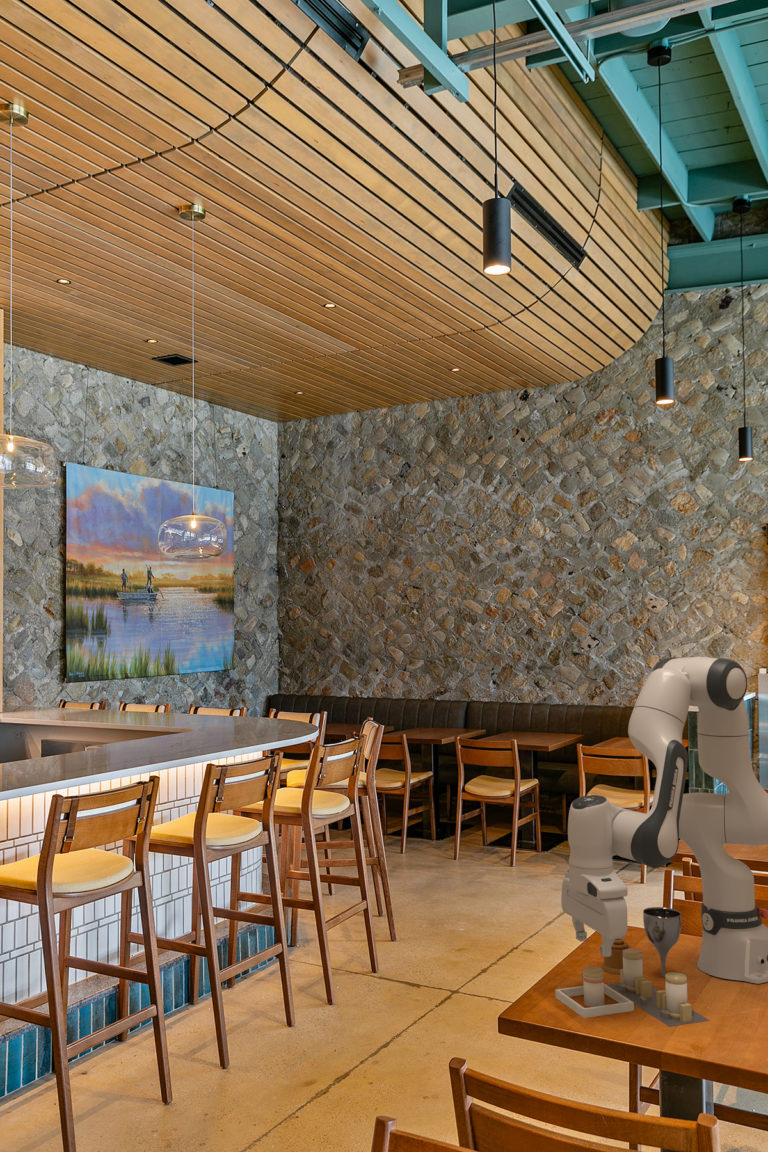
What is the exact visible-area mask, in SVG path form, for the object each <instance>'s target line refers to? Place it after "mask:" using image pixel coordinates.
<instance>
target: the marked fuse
mask: <svg viewBox="0 0 768 1152" xmlns="http://www.w3.org/2000/svg"><path fill="white" fill-rule="evenodd" d="M582 971H583V973H582V980H583V986H584V995H583V1005H585V1006H586V1007H588V1008H589V1007H596V1006H604V1005H606V1004H605V993H604V984H605V976H604V975H605V974H604V973H605V972H604V970H603V969H601V967H599V966H586V967H584V968H583V970H582Z"/></svg>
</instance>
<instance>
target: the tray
mask: <svg viewBox="0 0 768 1152" xmlns="http://www.w3.org/2000/svg"><path fill="white" fill-rule="evenodd" d="M554 993H555V998H556V999H557V1000H558V1001H559V1002H561V1003H563V1004H564V1005H565V1006H566V1007H568V1008H569V1009H571V1010H572V1011H574V1012H575V1014H577V1015H579V1016H580V1017H581V1018H583V1019H586V1018H593V1017H599V1016H600V1017H601V1016H607V1015H614V1014H620V1013H621V1014H622V1013H629V1012H633V1011H634V1012H635V1004H634V1002H632V1001H631V1000H629V999H628V998H626V997H624V996H623V995H621V994H620V993H618V992H617V991H615V990H613V989H612V988H610V987H609V986H607V985H606V983H604V995H607V996H608V997H609V998H611V999H613V1000H614V1001H615V1002H617V1003H612V1004H605V1005H604V1006H596V1007H589V1006H588V1007H584V1006H582V1005H581V1004H579V1003H578V1002H577V1001H576V1000H574V999H572V997H578V996H584V985H579V986H572V987H564V988H558V989H555V992H554Z"/></svg>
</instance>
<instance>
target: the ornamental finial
mask: <svg viewBox="0 0 768 1152" xmlns="http://www.w3.org/2000/svg"><path fill="white" fill-rule="evenodd" d="M625 949H632V948H631V946H630V944H629V943H628V942H626V941H625V939H624V938H620V939H615V940H614V943H613V945H612V947H611V956H610V957H604V956H603V963H602V964H601V966H600V968H601V969H603V970H604V973H606V974H610V975H614V976H615V975H616V976H620V969H623V950H625Z"/></svg>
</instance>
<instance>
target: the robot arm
mask: <svg viewBox="0 0 768 1152" xmlns="http://www.w3.org/2000/svg"><path fill="white" fill-rule="evenodd" d="M747 690H748V677H747V674H746V672H745V670H744V669H743V667H742V666H741V664H740V663H739V662H737V661H735V660H732V659H729V658H723V657H720V658H715V657H709V656H692V657H691V656H686V657H676V656H673V657H667V658H663V659H662V660H660V661H658V662H657V663H656V664H655V666H654V668H653V669H652V672H651V673H650V674H649V675H648V677H647V678H646V680H645V682H644V684H643V686H642V687H641V690H640V692H639V693H638V696H637V698H636V700H635V703H634V707H633V709H632V711H631V714H630V718H629V721H628V727H627V734H628V737H629V740H630V742H631V743H632V746H633V747H634V748H635V749H636V750H637V752H639V753H640V754H642V755H643V756H644V757H645V758H647V759H648V760H650V761H651V762H652V763H653V764H654V766H655V769H656V778H655V779H656V780H655V785H654V792H653V797H652V798H653V799H652V805H651V809H650V810H649V811H648V812H647V813H645V812H640V811H635V810H631V809H627V808H623V807H620V806H618V805H615V804H613V803H612V802H610V801H609V800H608V798H607V797H606V796H602V795H597V794H591V795H582V796H580V797H578V798H575V799H574V800H573V801H572V802H571V804H570V807H569V810H568V812H569V813H568V818H567V819H568V820H567V841H568V846H569V848H570V849H569V850H570V853H569V858H568V869H567V870H566V871H565V872H564V874H565V875H564V879H563V880H562V884H561V898H560V899H561V900H560V901H561V902H560V903H561V909H562V911H563V913H565V914H567V915H568V916H570V917H571V922H572V925H573V929H574V930H575V939H576V940H577V941H579V942H582V943H583V942H586V941H587V940H588V932H587V931H586V929H585V925H586V926H587V927H588V928H590V929H592V930H593V931H594V932H598V934H600V935H601V940H602V943H601V945H599V954H600V955H601V956H603V958H604V957H610V956H611V947H612V945H613V943H614V940H615V939H620V938H621V939H624V938H625V937H626V935H627V933H628V906H627V902H626V899H625V898H624V897H627V896H628V891H629V889H628V886H627V885H626V884H625V882H623V880H622V879H621V878H620V877H619V875H618V874H617V872H616V871H615V870H614V860H613V857H614V856H619V857H621V858H624V859H628V860H631V861H635V862H637V863H639V864H642V865H645V866H647V867H649V868H652V869H659V868H662V867H664V866H666V865H667V864H668V863H669V862H671V861H672V860H673V859H674V857H675V856H676V855H677V853H678V850H679V845H680V840H682V842H683V843H685V844H686V846H687V847H688V848H689V850H690V851H691V852H692V853H693V855H694V857H695V859H696V861H697V863H698V864H697V865H698V867H699V871H700V877H701V885H702V886H701V887H702V902H701V904H700V911H701V912H700V916H701V917H700V918H701V924H702V937H701V938H702V939H701V946H700V952H699V958H698V961H697V968H698V969H699V970H700V971H701V972H702V973H705V974H706V975H710V976H712V977H716V978H719V979H725V980H726V979H727V980H731V981H739V982H740V981H741V982H746V983H752V984H756V985H757V984H758V985H759V984H764V983H767V982H768V926H767V925H766V924H764V923H763V919H762V918H764V919H765V920H768V909H767V908H764V907H761V908H759V907H758V906H757V905H756V899H755V894H756V893H755V877H754V874H753V871H752V870H751V868H750V867H749V866H748V865H747V864H745V863H744V862H742V861H740V860H739V859H737V858H735V857H733V856H732V855H730V854H729V853H728V852H727V851H726V849H725V847H724V845H727V844H728V845H729V844H730V845H731V844H732V845H743V846H757V847H759V846H766V845H768V792H767V791H766V790H765V789H764V787H762V785H761V784H760V782H759V781H758V778H757V777H756V775H755V772H754V769H753V766H752V758H751V750H750V748H751V747H750V730H749V719H748V712H747V708H746V707H747V706H746V703H745V699H744V698H745V695H746V692H747ZM690 707H697V708H698V711H697V713H698V714H697V749H698V750H697V752H698V765H699V766H700V769H701V770H702V771H703V772H704V773H705V774H707V775H708V776H709V777H712V778H714V779H716V780H718V781H719V782H721V783H722V784H724V785H725V786H726V788H727V789H728V793H714V792H713V793H712V792H710V793H709V792H689V793H688V792H687V793H684V792H685V787H686V786H685V785H686V781H687V780H686V779H687V772H688V751H687V748H686V747H685V745H683V732H684V728H685V724H686V722H687V717H688V714H689V708H690Z"/></svg>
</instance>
